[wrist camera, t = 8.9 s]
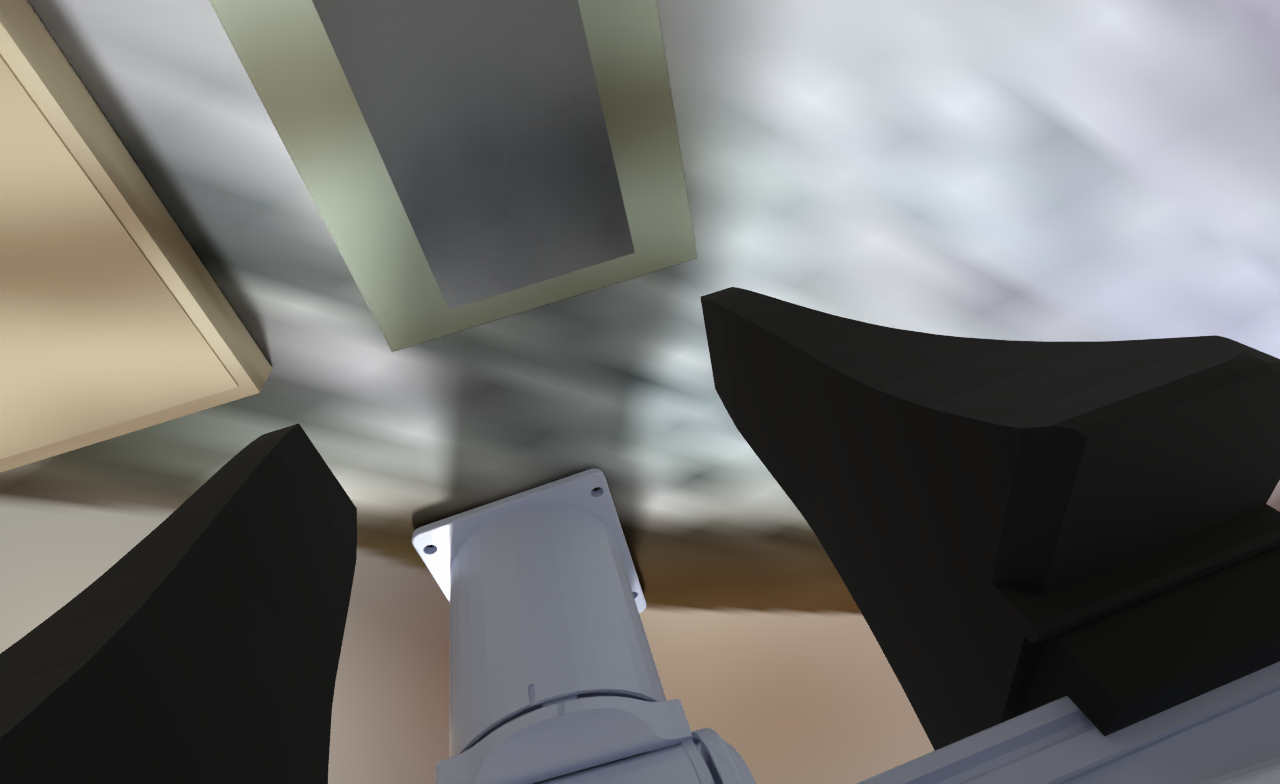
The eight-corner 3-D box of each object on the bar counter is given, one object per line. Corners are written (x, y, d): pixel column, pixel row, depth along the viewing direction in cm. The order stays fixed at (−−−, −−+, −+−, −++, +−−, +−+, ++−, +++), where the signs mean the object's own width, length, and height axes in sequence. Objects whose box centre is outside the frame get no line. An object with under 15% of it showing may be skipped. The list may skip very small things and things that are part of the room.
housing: (595, 202, 17) (635, 252, 14) (449, 246, 17) (448, 309, 13) (519, -98, 14) (545, -144, 10) (326, -53, 13) (276, -82, 9)
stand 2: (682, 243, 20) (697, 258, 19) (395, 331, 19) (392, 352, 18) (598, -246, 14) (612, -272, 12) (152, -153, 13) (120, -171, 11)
